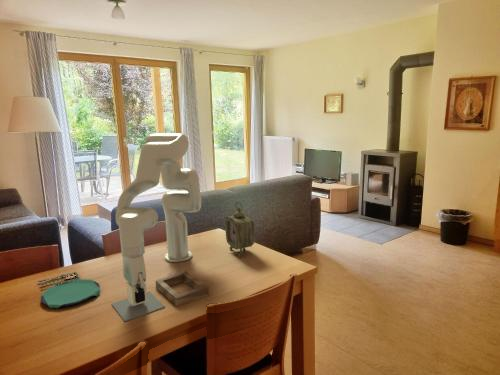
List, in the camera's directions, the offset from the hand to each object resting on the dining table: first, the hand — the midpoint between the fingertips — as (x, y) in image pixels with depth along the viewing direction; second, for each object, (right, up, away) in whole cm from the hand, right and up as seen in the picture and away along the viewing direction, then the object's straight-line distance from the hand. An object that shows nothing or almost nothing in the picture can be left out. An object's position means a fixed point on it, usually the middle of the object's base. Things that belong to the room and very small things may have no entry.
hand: (137, 298), depth 125 cm
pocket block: (+14, -1, +11) cm, 17 cm away
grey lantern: (+35, +7, +48) cm, 60 cm away
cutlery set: (-31, -2, +13) cm, 33 cm away
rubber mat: (0, -3, +1) cm, 3 cm away
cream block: (0, -1, 0) cm, 1 cm away
